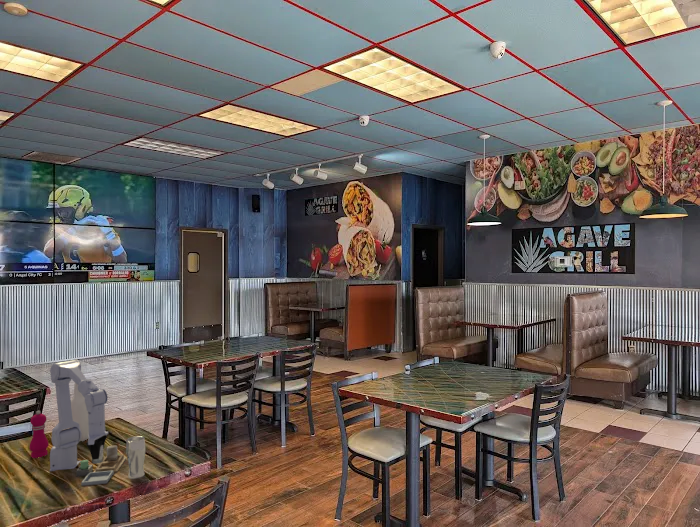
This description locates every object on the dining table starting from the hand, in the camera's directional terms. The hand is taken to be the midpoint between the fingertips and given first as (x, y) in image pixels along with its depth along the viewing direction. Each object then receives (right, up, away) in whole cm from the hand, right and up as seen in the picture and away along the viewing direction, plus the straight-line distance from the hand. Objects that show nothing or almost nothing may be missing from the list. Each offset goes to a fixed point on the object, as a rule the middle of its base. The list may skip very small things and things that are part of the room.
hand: (97, 456), depth 195 cm
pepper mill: (-39, -10, +27) cm, 49 cm away
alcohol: (-32, -10, +47) cm, 57 cm away
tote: (0, -9, 0) cm, 9 cm away
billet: (0, -2, 0) cm, 2 cm away
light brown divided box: (-1, -9, +12) cm, 16 cm away
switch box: (-8, -10, +6) cm, 14 cm away
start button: (-8, -8, +6) cm, 13 cm away
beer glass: (+14, -9, +3) cm, 17 cm away
